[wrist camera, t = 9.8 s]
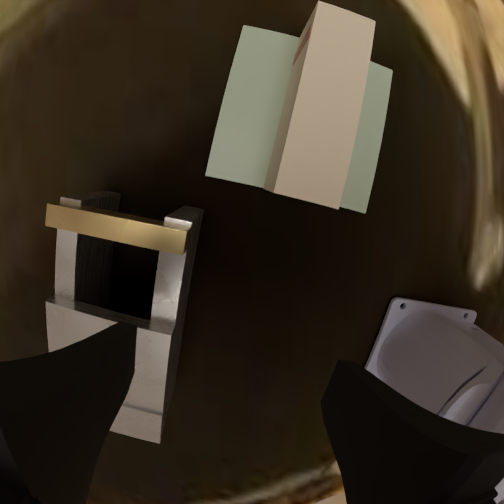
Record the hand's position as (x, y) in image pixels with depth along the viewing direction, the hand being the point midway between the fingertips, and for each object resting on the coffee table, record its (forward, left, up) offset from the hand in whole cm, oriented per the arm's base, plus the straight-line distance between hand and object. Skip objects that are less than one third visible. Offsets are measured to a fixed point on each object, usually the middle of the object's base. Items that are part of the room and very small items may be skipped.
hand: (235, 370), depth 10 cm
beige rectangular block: (-2, -11, -9) cm, 14 cm away
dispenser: (+6, +2, -10) cm, 12 cm away
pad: (-2, -11, -10) cm, 15 cm away
